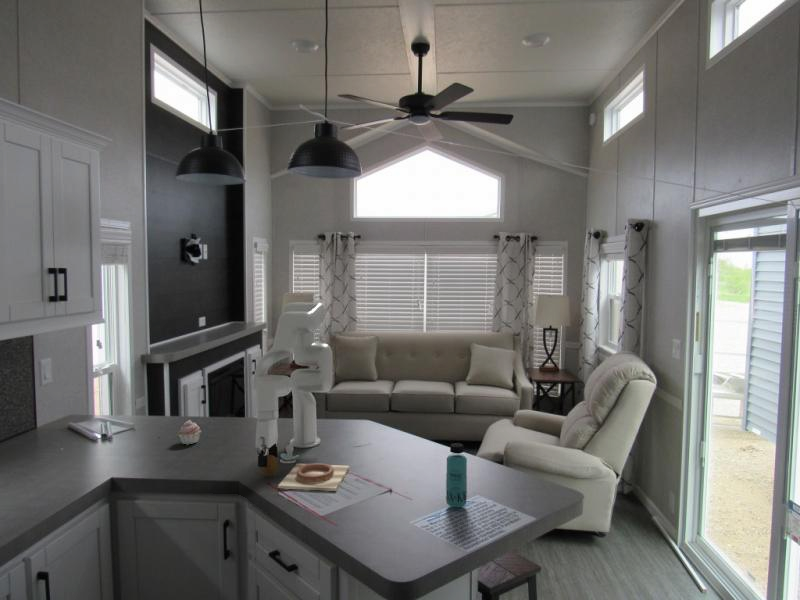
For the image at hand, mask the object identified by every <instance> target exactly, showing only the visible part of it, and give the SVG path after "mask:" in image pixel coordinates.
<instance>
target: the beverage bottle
mask: <svg viewBox="0 0 800 600" xmlns="http://www.w3.org/2000/svg"><path fill="white" fill-rule="evenodd" d="M464 450H465V449H464V444H462V443H459V442H455V443H454V442H453V443H451V444H450V449H449V451H450V454H449V455H448V456H447V457H446V473H445V474H446V475H445V476H446V478H445V479H446V480H445V492H446V494H445V495H446V496H445V502H446V504H447V505H448V506H449V507H452V508H462V507H464V506H465V505H467V498H468V495H467V494H468V488H467V487H468V483H467V480H468V479H467V478H468V476H467V472H468V470H467V468H468V467H467V466H468V465H467V463H468V462H467V461H468V458H467V457H466V456H465V455H464V454H463V453H464Z"/></svg>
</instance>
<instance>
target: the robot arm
mask: <svg viewBox="0 0 800 600" xmlns="http://www.w3.org/2000/svg"><path fill="white" fill-rule="evenodd" d="M326 315H327V309H326V307H325V305H324V304H323V303H321V302H306V301H305V302H301V301H299V302H298V301H296V302H289V303H286V304H285V305H284V307H283V313H282V314H280V316H279V318H278V322H277V327H276V331H275V334H274V340H273V345H272V347H271V348H270V349H269V350H268V351H266V352H265V354H264V355H263V356H261V359H260V360H259V361H258V362H257V365H256V366H255V371H254V375H253V379H252V390H253V392H254V393H255V394H256V396H255V397H256V420H257V421H256V427H255V448H256V450H257V451H256V452H257V453H256V454H257V466H258V468H260V467H267V466H268V462H267V455H273V456H275V457H276V459H277V458H278V457H279V456H278V446H279V444H278V441H279V430H278V429H279V427H278V426H279V425H278V424H279V423H278V419H279V398H281V397H286V396H287V395H289V394H290V393H292V413H293V414H292V415H293V417H292V418H293V419H292V421H293V438H291V439H290V442H289V444H291V445H292V446H293V448H297V449H298V448H299V449H300V448H302V449H303V448H304V449H305V448H312V447H316V446H318V445H319V444H321V438H320V437H318V436H317V434H318V433H317V401H316V399H315V396H314V395H313V393H328V392H330V390H331V389H332V387H333V351H332V347H331V346H330V345H329V344H327V343H320V342H319V343H317V342H315V339H316V338H315V336H316V335H315V333H316V330H317V329H319V327H320V326H321V325H322V324H323V322H324V321H325V319H326ZM292 355H293V359H294V362H295V364H296V365H297V366H303V367H305V366H306V367H318V369H316V368H298V369H295V370H294V371H292V372H291V374H290V377H289V376H287V375H281V374H278V375H277V374H267V372H268V371H269V369H270V367H271V366H273V364H275V363H277V362H279V361H281V360H283V359H287V358H288V357H290V356H292ZM267 453H268V454H267Z"/></svg>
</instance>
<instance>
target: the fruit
mask: <svg viewBox="0 0 800 600" xmlns="http://www.w3.org/2000/svg"><path fill="white" fill-rule="evenodd" d="M266 455H267V462H268V466H267V467H259V469H260V472H261V474H262V475H263V476H265V477H267V478H271V477H273V476H274V475H276V473H277V471H278V468H279V464H278V459H277V458H276V457H275V456H273V455H269V454H266Z"/></svg>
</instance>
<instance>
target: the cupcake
mask: <svg viewBox="0 0 800 600" xmlns="http://www.w3.org/2000/svg"><path fill="white" fill-rule="evenodd" d="M201 432H202V430H201V428H200V426H199V425H197V423H196V422H193V421H192V420H191V419H189V420H187V421H185V422H184V423H183V425H181V426H180V430H179V432H178V433H177V435H178V436H179V438H180V441H181V442H180V443H181V444H182V445H183V444H193V443H196V442H197V443H199V439H200V435H201ZM197 443H196V444H197ZM193 445H194V444H193Z"/></svg>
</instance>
